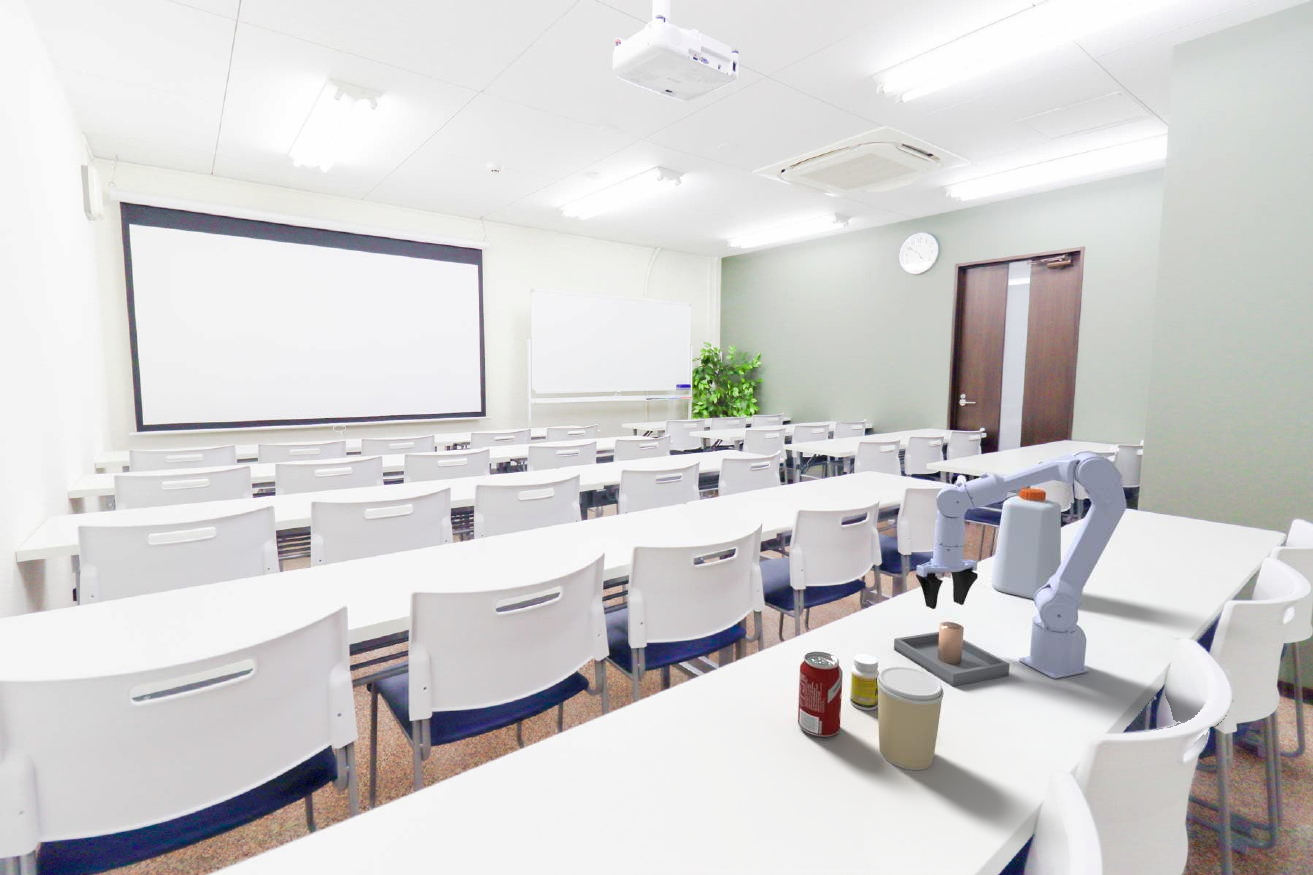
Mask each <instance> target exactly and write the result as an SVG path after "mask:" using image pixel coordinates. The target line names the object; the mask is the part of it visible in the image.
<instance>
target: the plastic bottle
mask: <svg viewBox="0 0 1313 875" xmlns="http://www.w3.org/2000/svg"><path fill="white" fill-rule="evenodd" d="M1046 497H1047V492H1046V491H1045V490H1043V489H1038V488H1029V487H1025V488H1021V489H1019V495H1014V496H1011V497H1010V498H1008V499H1005V500H1004V502H1003V503H1002V510H1001V517H1000V521H999V530H998V534H997V541H996V549H995V555H994V561H993V566H992V567H993V568H992V574H991V580H990V583H991V586H992V587H993V588H994V589H995V590H996V591H999V592H1001V593H1004V594H1010V595H1013V596H1017V597H1023V598H1027V599H1031V600H1034V595H1035V593H1036V592H1037V590H1039V589H1040V588H1042V587H1043V586H1044V585H1046V583H1047V582H1048V580H1049V578H1050V577H1052V576H1053V575H1054V574H1055V573H1056V572H1057V570H1058V568H1059V566H1060V564H1061V562H1062V558H1061V557H1062V553H1061V552H1062V548H1061V546H1062V536H1061V534H1062V519H1061V518H1062V513H1061V512H1062V507H1061V506H1062V505H1061V504H1060V503H1059V502H1058V501H1056V500H1052V499H1046Z"/></svg>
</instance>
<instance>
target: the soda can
mask: <svg viewBox="0 0 1313 875" xmlns="http://www.w3.org/2000/svg"><path fill="white" fill-rule="evenodd" d="M803 657H804V658H803V661H802V662H801V663H800V666H799V682H798V684H799V685H798V686H799V687H798V703H797V704H798V705H797V706H798V710H797V711H798V712H797V724H798V725H799V727H800V729H801V730H803V731H804V732H806V733H807V734H809V735H811V736H813V737H819V738H828V737H832V736H835V735H837V734H838V733H839V732H840V730H841V719H842V718H841V715H842V696H843V695H842V694H843V693H842V692H843V691H842V690H843V670H842V668H841V667H840V661H839V659H838V658H837V657H836V656H835V655H834V654H831V653H829V652H825V651H810V652H807V653H806V654H805V655H804V656H803Z"/></svg>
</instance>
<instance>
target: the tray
mask: <svg viewBox="0 0 1313 875" xmlns="http://www.w3.org/2000/svg"><path fill="white" fill-rule="evenodd" d="M893 641H894V642H893V650H895V651H896V652H897V653H898V654H900V655H902V656H904V657H905V658H907V659H908V660H910V661H912V662H913V663H914V664H917V666H920V667H921V668H922V669H925V670H926V672H929V673H930V674H932V676H934V677H937V678H938V679H940V680H942V681H943V682H944V683H946V684H948V685H950V686H951V687H956V686H961V685H967V684H971V683H978V682H981V681H988V680H993V679H997V678H1003V677H1008V676H1010V664H1011V663H1010V662H1007V661H1005V660H1003V659H1002V658H999V657H997V656H995V655H994V654H992V653H991V652H988V651H986V650H984V649H982V648H980V647H979V646H977V645H975V644H973V643H971V642H969V641H968V640H965V639H964V638H963V646H962V661H961V663H959V664H950V663H946V662H943V661H941V660H940V659H938V643H939V631H936V632H935V631H934V632H929V633H922V634H916V635H915V634H914V635H910V636H909V635H908V636H903V637H897V638H894V640H893Z"/></svg>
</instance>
